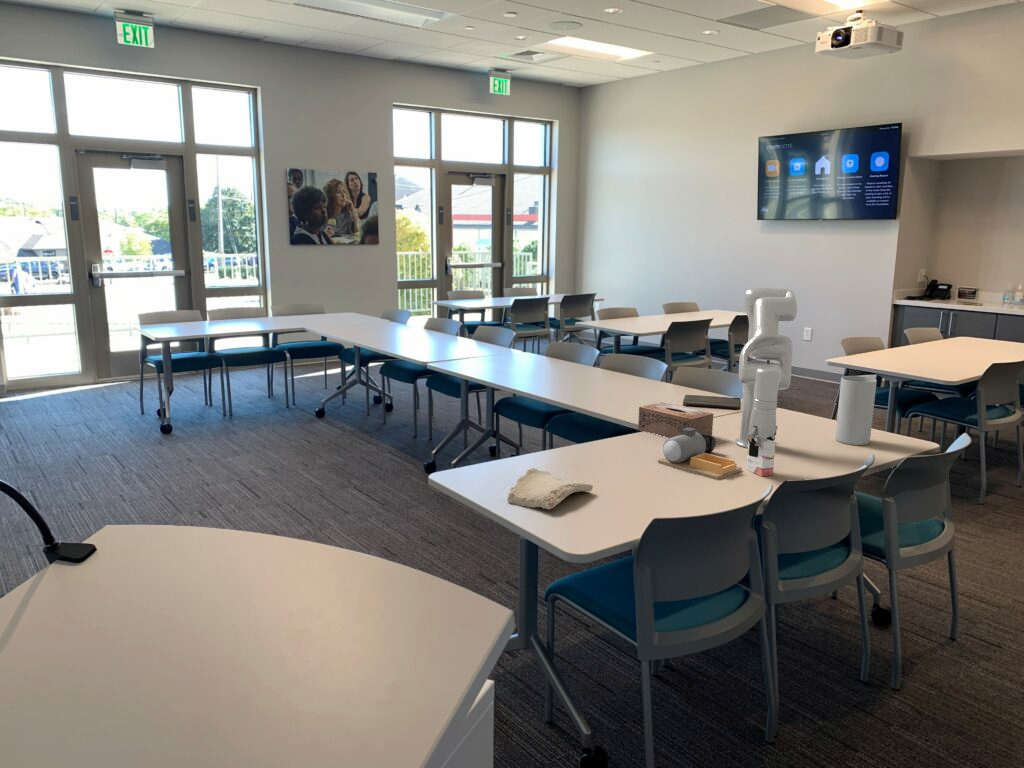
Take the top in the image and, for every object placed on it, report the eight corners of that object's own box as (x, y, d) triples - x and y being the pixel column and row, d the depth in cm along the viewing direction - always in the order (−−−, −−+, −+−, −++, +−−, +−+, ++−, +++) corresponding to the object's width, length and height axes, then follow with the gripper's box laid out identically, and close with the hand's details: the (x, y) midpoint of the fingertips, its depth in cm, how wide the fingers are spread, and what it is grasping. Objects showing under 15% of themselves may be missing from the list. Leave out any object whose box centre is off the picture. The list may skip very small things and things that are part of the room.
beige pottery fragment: (497, 503, 228) (552, 513, 216) (496, 479, 227) (551, 487, 215) (543, 485, 247) (596, 493, 235) (543, 463, 246) (595, 469, 234)
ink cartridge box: (773, 475, 254) (777, 433, 251) (761, 477, 252) (765, 434, 249) (757, 468, 262) (760, 427, 259) (745, 469, 260) (748, 428, 257)
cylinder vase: (861, 437, 303) (868, 376, 298) (875, 446, 291) (882, 382, 286) (830, 436, 303) (836, 375, 298) (842, 445, 291) (849, 381, 286)
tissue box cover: (711, 437, 300) (713, 413, 298) (689, 444, 291) (691, 419, 289) (660, 425, 319) (661, 402, 317) (638, 430, 310) (639, 406, 308)
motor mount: (683, 454, 276) (685, 423, 274) (741, 470, 259) (744, 437, 256) (657, 462, 266) (659, 430, 264) (716, 479, 249) (719, 445, 246)
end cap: (715, 452, 280) (716, 435, 278) (705, 456, 275) (706, 438, 273) (691, 447, 287) (692, 429, 285) (681, 450, 282) (682, 433, 280)
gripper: (768, 399, 261) (764, 447, 264) (740, 406, 249) (737, 456, 253) (788, 402, 255) (784, 451, 258) (761, 410, 244) (757, 461, 247)
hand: (761, 453), depth 255 cm, fingers open, 9 cm apart
